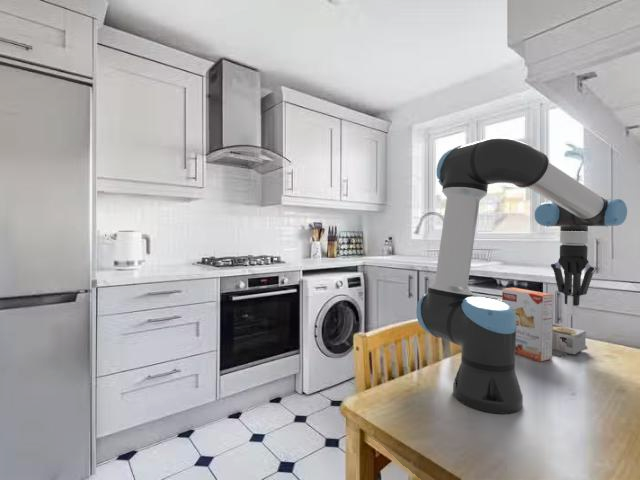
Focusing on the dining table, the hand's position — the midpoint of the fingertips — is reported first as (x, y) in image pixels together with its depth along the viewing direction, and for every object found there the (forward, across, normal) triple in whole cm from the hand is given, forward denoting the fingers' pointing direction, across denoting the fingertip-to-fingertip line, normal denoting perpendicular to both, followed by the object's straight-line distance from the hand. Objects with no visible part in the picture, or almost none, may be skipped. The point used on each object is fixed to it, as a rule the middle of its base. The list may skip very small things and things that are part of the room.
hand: (571, 314), depth 118 cm
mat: (+12, +6, 0) cm, 14 cm away
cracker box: (+13, +6, +16) cm, 21 cm away
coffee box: (+9, -3, 0) cm, 9 cm away
